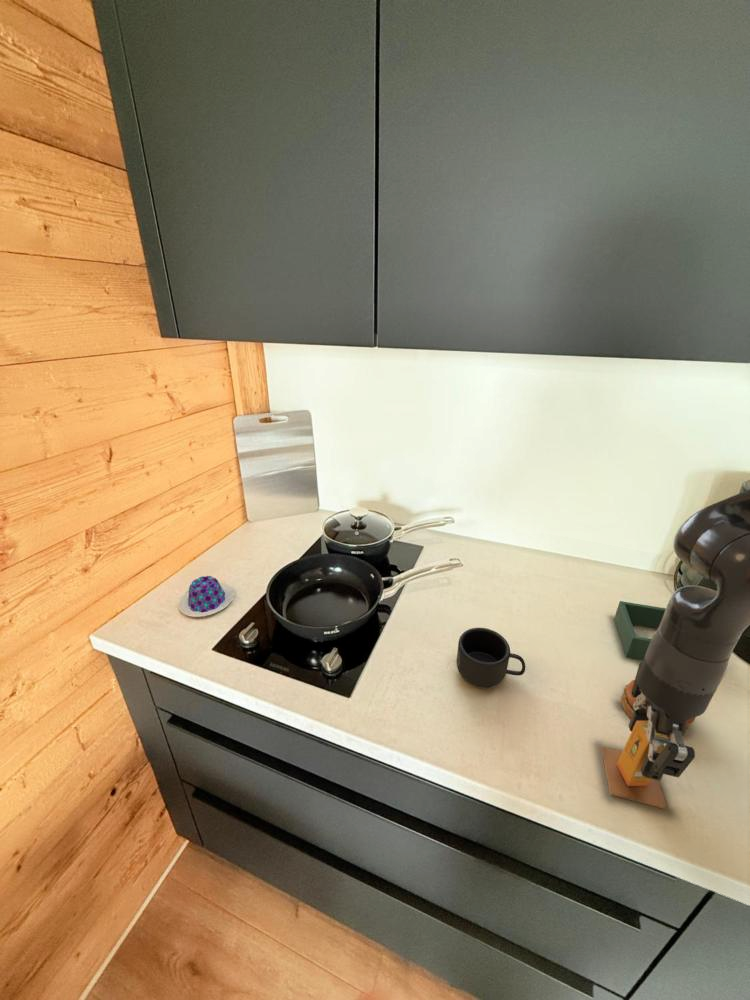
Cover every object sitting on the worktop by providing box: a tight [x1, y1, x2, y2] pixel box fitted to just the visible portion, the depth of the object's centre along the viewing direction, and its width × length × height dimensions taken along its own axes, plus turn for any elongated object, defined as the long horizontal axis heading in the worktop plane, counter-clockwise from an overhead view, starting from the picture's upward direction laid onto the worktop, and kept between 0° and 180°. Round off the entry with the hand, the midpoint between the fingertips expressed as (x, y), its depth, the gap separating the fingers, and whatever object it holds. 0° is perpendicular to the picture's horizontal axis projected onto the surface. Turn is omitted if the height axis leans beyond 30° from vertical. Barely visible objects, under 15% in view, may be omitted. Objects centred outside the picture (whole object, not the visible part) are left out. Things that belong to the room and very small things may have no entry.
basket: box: [613, 600, 666, 661], centre depth 84 cm, size 13×11×5 cm
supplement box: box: [617, 721, 669, 786], centre depth 59 cm, size 3×3×10 cm
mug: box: [455, 627, 526, 689], centre depth 77 cm, size 12×9×7 cm
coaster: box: [600, 746, 668, 810], centre depth 62 cm, size 7×7×1 cm
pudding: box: [178, 575, 235, 618], centre depth 96 cm, size 12×12×5 cm
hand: (642, 751), depth 59 cm, fingers open, 6 cm apart
